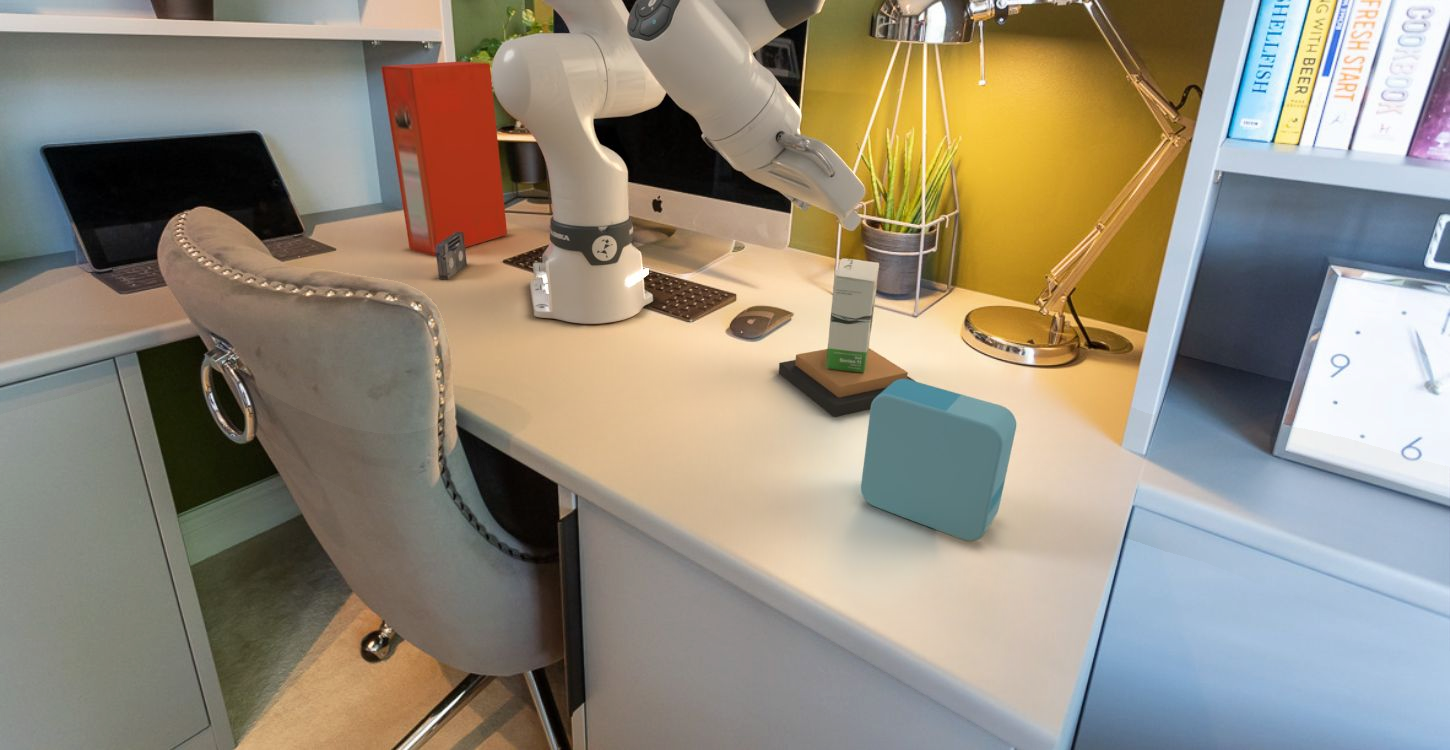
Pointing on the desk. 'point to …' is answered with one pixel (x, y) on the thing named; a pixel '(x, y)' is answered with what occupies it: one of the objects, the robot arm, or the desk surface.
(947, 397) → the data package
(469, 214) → the file binder
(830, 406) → the pad stack
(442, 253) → the mini dv tape
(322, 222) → the desk surface
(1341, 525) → the desk surface
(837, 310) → the ink box
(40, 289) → the desk surface
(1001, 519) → the desk surface
